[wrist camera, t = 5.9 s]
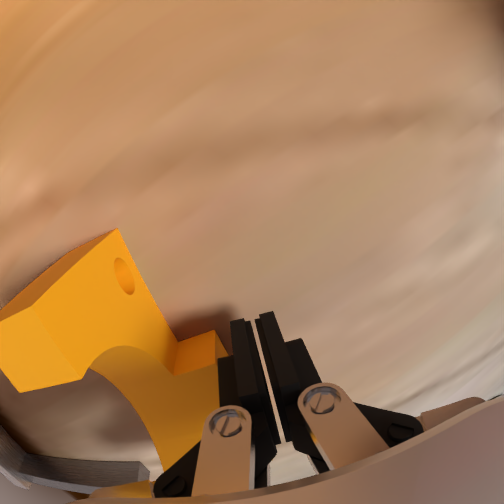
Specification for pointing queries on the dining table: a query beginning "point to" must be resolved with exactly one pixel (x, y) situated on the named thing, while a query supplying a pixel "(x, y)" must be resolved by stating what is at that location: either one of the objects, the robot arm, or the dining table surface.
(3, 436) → the bracket
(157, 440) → the pipe clamp
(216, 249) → the dining table surface
